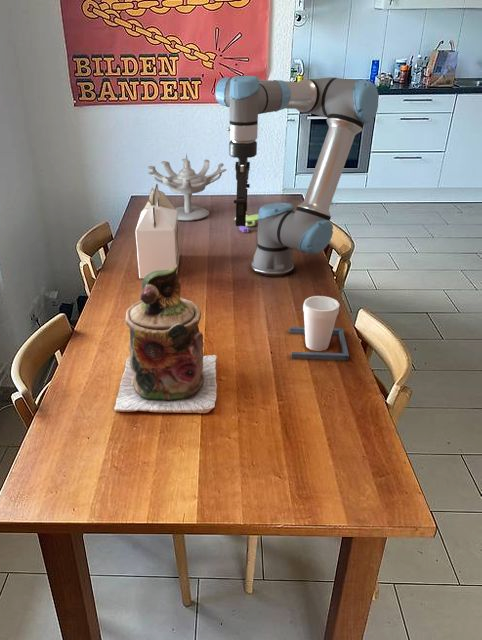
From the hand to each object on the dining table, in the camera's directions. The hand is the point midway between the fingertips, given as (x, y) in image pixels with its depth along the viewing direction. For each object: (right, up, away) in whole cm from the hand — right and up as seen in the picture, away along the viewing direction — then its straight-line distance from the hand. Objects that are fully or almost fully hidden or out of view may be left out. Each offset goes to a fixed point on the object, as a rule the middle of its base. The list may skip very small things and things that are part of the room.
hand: (241, 218), depth 168 cm
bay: (+21, -37, -5) cm, 43 cm away
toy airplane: (+16, +17, +79) cm, 83 cm away
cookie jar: (-20, -49, -21) cm, 57 cm away
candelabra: (-18, +27, +95) cm, 100 cm away
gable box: (-27, -6, +45) cm, 53 cm away
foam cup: (+21, -37, -5) cm, 43 cm away
